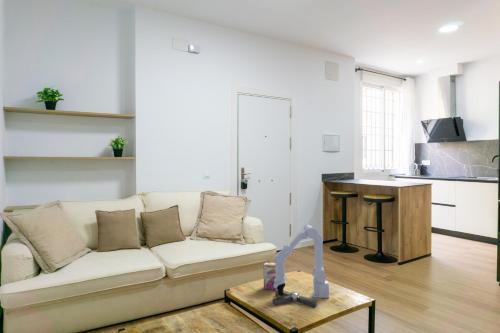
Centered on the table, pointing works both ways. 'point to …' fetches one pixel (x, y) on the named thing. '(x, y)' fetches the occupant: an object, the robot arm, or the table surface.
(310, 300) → the stool base
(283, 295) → the folding foot
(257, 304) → the table surface
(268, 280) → the candy bar box
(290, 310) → the table surface
